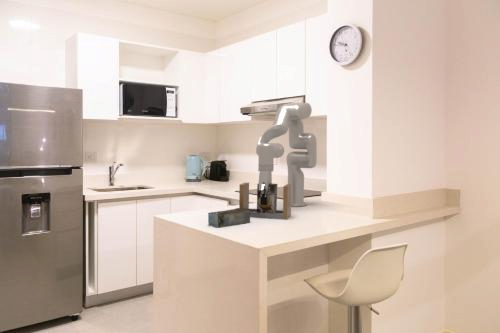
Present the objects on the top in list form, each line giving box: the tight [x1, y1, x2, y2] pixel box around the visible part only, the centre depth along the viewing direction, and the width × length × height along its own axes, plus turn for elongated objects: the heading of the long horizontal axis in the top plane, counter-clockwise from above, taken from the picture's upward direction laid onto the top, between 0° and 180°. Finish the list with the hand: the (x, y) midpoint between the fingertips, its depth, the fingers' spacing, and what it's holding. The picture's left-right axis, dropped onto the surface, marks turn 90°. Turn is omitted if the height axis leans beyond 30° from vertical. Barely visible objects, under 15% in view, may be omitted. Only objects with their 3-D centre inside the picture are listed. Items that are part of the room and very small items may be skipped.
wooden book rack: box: [238, 182, 292, 220], centre depth 207 cm, size 11×24×16 cm, turn 75°
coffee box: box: [256, 182, 278, 213], centre depth 207 cm, size 9×6×16 cm
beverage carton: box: [207, 207, 251, 229], centre depth 188 cm, size 8×19×7 cm, turn 131°
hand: (265, 203), depth 207 cm, fingers open, 7 cm apart
